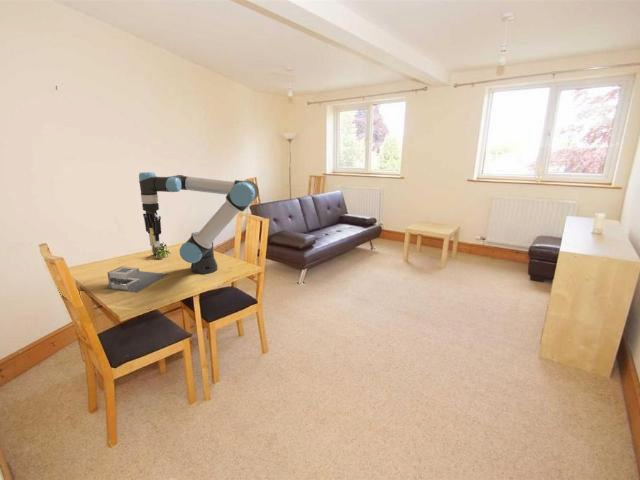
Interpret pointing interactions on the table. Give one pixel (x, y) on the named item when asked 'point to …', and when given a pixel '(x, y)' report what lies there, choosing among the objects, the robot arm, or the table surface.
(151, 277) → the mat
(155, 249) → the pin
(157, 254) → the passion flower
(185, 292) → the table surface
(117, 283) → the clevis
